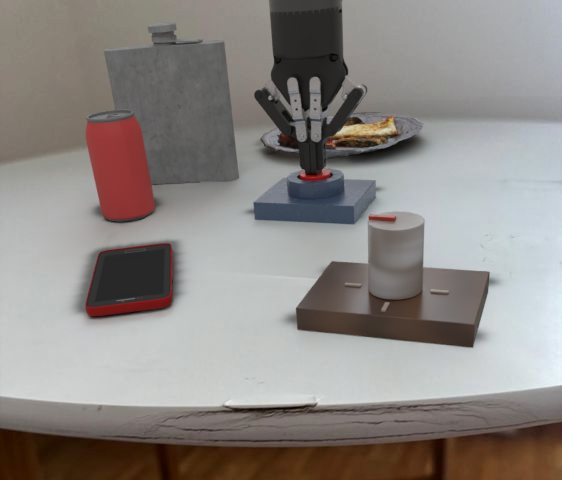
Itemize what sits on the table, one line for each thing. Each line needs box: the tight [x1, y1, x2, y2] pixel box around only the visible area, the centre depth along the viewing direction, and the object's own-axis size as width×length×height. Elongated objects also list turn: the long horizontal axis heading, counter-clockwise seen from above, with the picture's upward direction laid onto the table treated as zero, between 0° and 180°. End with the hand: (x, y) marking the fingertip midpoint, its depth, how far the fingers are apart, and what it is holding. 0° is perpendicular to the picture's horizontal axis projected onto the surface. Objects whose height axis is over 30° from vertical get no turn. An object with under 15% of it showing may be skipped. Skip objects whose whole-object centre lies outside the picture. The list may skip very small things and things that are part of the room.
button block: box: [252, 167, 377, 225], centre depth 82 cm, size 12×10×4 cm
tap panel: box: [295, 260, 491, 349], centre depth 58 cm, size 14×10×2 cm
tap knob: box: [367, 211, 426, 300], centre depth 56 cm, size 4×4×6 cm
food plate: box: [259, 111, 425, 159], centre depth 108 cm, size 25×23×4 cm
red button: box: [300, 169, 331, 181], centre depth 81 cm, size 4×4×2 cm
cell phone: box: [84, 242, 174, 317], centre depth 67 cm, size 8×15×1 cm, turn 8°
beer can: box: [85, 109, 156, 223], centre depth 84 cm, size 7×7×12 cm
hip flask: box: [103, 22, 240, 186], centre depth 93 cm, size 16×4×20 cm, turn 83°
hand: (314, 172), depth 81 cm, fingers closed
